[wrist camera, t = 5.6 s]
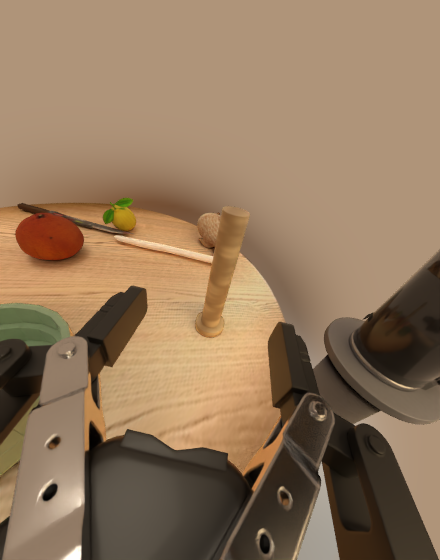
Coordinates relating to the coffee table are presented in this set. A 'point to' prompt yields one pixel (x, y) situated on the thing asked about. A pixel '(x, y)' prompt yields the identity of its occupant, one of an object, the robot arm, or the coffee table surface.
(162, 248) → the cream knobbed rod
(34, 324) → the bowl
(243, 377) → the coffee table surface
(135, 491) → the robot arm
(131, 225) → the lemon
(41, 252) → the fruit
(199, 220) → the figurine
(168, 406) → the coffee table surface
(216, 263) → the stick
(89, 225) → the knife
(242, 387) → the coffee table surface
